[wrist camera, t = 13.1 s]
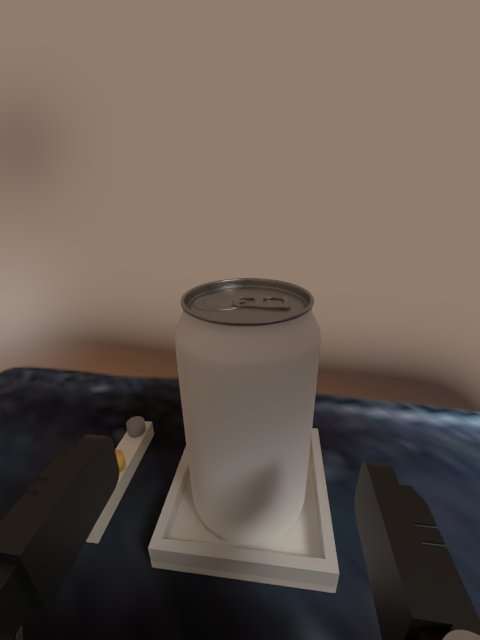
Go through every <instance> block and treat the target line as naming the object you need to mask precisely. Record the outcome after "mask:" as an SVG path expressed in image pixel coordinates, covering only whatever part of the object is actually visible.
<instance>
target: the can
mask: <svg viewBox="0 0 480 640" xmlns="http://www.w3.org/2000/svg"><path fill="white" fill-rule="evenodd" d="M313 304H314V299H313V296H312V295H311V293H310V292H308V291H307V290H306V289H304V288H302V287H300V286H297V285H294V284H291V283H288V282H283V281H278V280H270V279H259V278H258V279H257V278H238V279H227V280H220V281H215V282H210V283H206V284H203V285H199V286H197V287H195V288H192V289H191V290H189V291H187V292H186V293H185V294H184V295H183V296H182V298H181V306H182V308H183V313H182V315H181V318H180V320H179V323H178V325H177V328H176V332H175V346H176V358H177V367H178V377H179V385H180V394H181V403H182V412H183V420H184V429H185V437H186V446H187V454H188V463H189V471H190V479H191V487H192V494H193V501H194V505H195V508H196V511H197V513H198V515H199V517H200V519H201V520H202V521H203V523H204V524H205V525H206V526H207V527H208V528H209V529H210V530H211V531H212V532H214V533H215V534H216V535H218V536H220V537H222V538H224V539H226V540H228V541H231V542H235V543H240V544H259V543H264V542H267V541H270V540H273V539H275V538H277V537H279V536H280V535H282V534H283V533H285V532H286V531H287V530H288V529H289V528H290V527H291V526H292V525H293V524H294V523H295V522H296V520H297V519H298V517H299V515H300V513H301V510H302V507H303V503H304V498H305V491H306V482H307V473H308V464H309V454H310V444H311V435H312V425H313V415H314V405H315V395H316V384H317V374H318V363H319V352H320V331H319V327H318V324H317V322H316V319H315V317H314V315H313V313H312V310H311V308H312V306H313Z"/></svg>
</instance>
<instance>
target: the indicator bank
mask: <svg viewBox="0 0 480 640" xmlns="http://www.w3.org/2000/svg"><path fill="white" fill-rule="evenodd" d="M126 427H127V432H126V434H125V435H124V437H123V438H122V440H121V441H120V443H119V445H118V446H117V448H116V449H115V452H116V457H117V461H118V465H119V479H118V483H117V486H116V488H115V490H114V492H113V494H112V495H111V497H110V499H109V501H108V503H107V504H106V506H105V508H104V510H103V512H102V513H101V515H100V517H99V519H98V521H97V522H96V524H95V526H94V528H93V530H92V531H91V533H90V535H89V537H88V538H87V540H86V542H90V543H99V541H100V539H101V537H102V535H103V533H104V531H105V529H106V527H107V525H108V523H109V521H110V519H111V518H112V516H113V514H114V512H115V510H116V508H117V506H118V504H119V502H120V500H121V498H122V496H123V494H124V492H125V490H126V488H127V486H128V484H129V483H130V481H131V479H132V477H133V475H134V473H135V471H136V469H137V467H138V465H139V463H140V461H141V459H142V457H143V455H144V453H145V451H146V449H147V447H148V446H149V444H150V442H151V440H152V438H153V436H154V430H153V424H152V422H148V421H144V418H143V417H140V416H135V417H132V418H130V419H129V420H128V421H127V423H126Z"/></svg>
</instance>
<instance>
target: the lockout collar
mask: <svg viewBox="0 0 480 640" xmlns="http://www.w3.org/2000/svg"><path fill="white" fill-rule="evenodd" d="M148 551H149V555H150V560H151V565H152V567H153V568H160V569H167V570H174V571H181V572H188V573H196V574H203V575H210V576H217V577H224V578H231V579H238V580H245V581H252V582H259V583H266V584H273V585H280V586H288V587H295V588H302V589H309V590H316V591H323V592H330V593H335V592H336V587H337V583H338V578H339V569H338V562H337V555H336V549H335V542H334V535H333V528H332V522H331V515H330V508H329V501H328V495H327V488H326V481H325V474H324V468H323V461H322V454H321V447H320V441H319V434H318V429H315V428H312V435H311V444H310V454H309V464H308V473H307V482H306V491H305V498H304V503H303V507H302V510H301V513H300V515H299V517H298V519H297V520H296V522H295V523H294V524H293V525H292V526H291V527H290V528H289V529H288V530H287V531H286V532H285V533H283V534H282V535H280V536H279V537H277V538H275V539H273V540H270V541H267V542H264V543H259V544H240V543H235V542H231V541H228V540H226V539H224V538H222V537H220V536H218V535H216V534H215V533H214V532H212V531H211V530H210V529H209V528H208V527H207V526H206V525H205V524H204V523H203V521H202V520H201V519H200V517H199V515H198V513H197V511H196V508H195V505H194V501H193V494H192V487H191V479H190V471H189V463H188V454H187V446H186V447H185V449H184V452H183V455H182V457H181V460H180V463H179V466H178V468H177V471H176V474H175V476H174V479H173V482H172V485H171V487H170V490H169V493H168V495H167V498H166V501H165V503H164V506H163V509H162V512H161V514H160V517H159V520H158V522H157V525H156V528H155V531H154V533H153V536H152V539H151V541H150V544H149V547H148Z"/></svg>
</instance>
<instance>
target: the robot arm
mask: <svg viewBox="0 0 480 640" xmlns="http://www.w3.org/2000/svg"><path fill="white" fill-rule="evenodd" d="M118 479H119V465H118V461H117V457H116V452H115V448H114V444H113V440H112V438H111V437H110V436H101V435H90V434H88V435H85V436H84V437H83V438H82V439H81V440H80V441H79V443H78V444H77V445H76V446H75V447H74V449H73V450H66V451H65V452H64V453H62V454H61V455H60V456H58V457H57V458H55V459H54V460H53V461H51V462H50V463H49V465H48V466H47V467H46V468H45V469H44V470H43V472H42V473H41V474H40V475H39V476H38V479H37V480H36V481H34V482H33V483H32V485H31V486H30V487H29V488H28V489H27V492H26V494H23V495H22V496H21V498H20V499H19V500H18V501H17V502H16V503H15V505H14V506H13V507H12V508H11V509H10V511H9V512H8V513H7V514H6V515H5V516H4V518H3V519H2V520H1V521H0V640H23V624H22V623H23V621H24V619H25V618H26V616H27V614H28V613H29V611H30V609H31V608H34V609H39V610H45V611H47V610H48V608H49V606H50V605H51V603H52V601H53V599H54V598H55V596H56V594H57V592H58V590H59V589H60V587H61V585H62V583H63V581H64V580H65V578H66V576H67V574H68V572H69V571H70V569H71V567H72V565H73V564H74V562H75V560H76V558H77V556H78V555H79V553H80V551H81V549H82V547H83V546H84V544H85V542H86V540H87V538H88V537H89V535H90V533H91V531H92V530H93V528H94V526H95V524H96V522H97V521H98V519H99V517H100V515H101V513H102V512H103V510H104V508H105V506H106V504H107V503H108V501H109V499H110V497H111V495H112V494H113V492H114V490H115V488H116V486H117V483H118ZM354 505H355V516H356V521H357V526H358V530H359V535H360V540H361V544H362V549H363V553H364V558H365V562H366V567H367V572H368V576H369V581H370V585H371V590H372V594H373V599H374V604H375V608H376V613H377V617H378V622H379V626H380V631H381V636H382V640H480V620H479V618H478V616H477V613H476V611H475V609H474V607H473V605H472V602H471V600H470V598H469V596H468V594H467V591H466V589H465V587H464V585H463V583H462V580H461V578H460V576H459V574H458V572H457V569H456V567H455V565H454V563H453V560H452V558H451V556H450V554H449V552H448V549H447V548H445V543H444V541H443V538H442V536H441V534H440V532H439V530H437V525H436V523H435V521H434V519H433V516H432V514H431V512H430V510H429V507H428V505H427V504H426V503H425V501H424V500H423V499H422V498H421V497H420V496H419V494H418V493H417V492H416V491H415V490H414V489H413V488H412V486H404V485H399V483H398V480H397V478H396V475H395V473H394V470H393V468H392V466H391V465H390V464H384V463H373V462H362V464H361V468H360V473H359V477H358V482H357V487H356V492H355V500H354Z"/></svg>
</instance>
